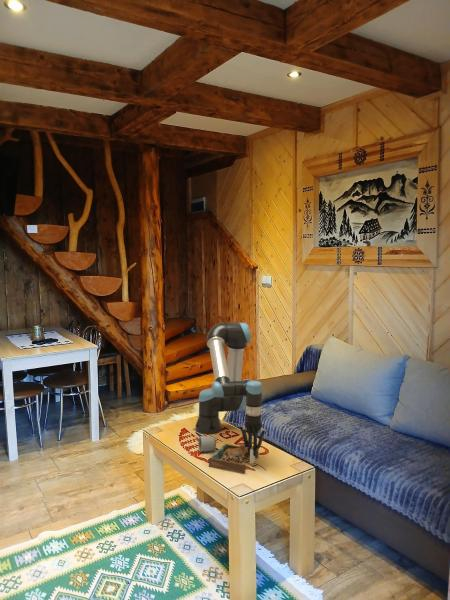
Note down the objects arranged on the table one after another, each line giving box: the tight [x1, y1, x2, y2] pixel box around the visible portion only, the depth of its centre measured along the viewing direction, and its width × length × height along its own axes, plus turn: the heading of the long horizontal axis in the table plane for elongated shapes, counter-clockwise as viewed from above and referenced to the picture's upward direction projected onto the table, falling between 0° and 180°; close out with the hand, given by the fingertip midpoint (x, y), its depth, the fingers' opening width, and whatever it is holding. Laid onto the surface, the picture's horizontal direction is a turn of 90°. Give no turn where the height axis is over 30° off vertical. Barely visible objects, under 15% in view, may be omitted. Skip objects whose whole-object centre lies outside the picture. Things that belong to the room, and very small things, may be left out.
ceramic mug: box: [198, 435, 217, 453], centre depth 243 cm, size 11×8×8 cm
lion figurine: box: [221, 444, 248, 463], centre depth 231 cm, size 15×5×9 cm
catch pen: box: [208, 443, 259, 474], centre depth 229 cm, size 20×18×4 cm
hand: (252, 461), depth 226 cm, fingers closed
